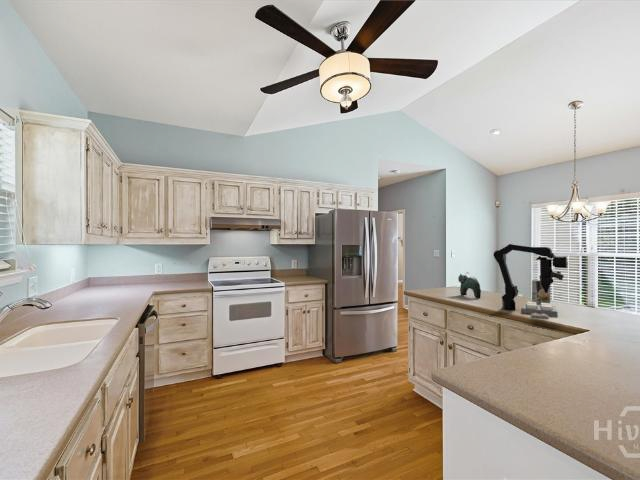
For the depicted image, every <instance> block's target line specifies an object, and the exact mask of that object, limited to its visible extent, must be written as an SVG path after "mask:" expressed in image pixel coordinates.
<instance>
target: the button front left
mask: <svg viewBox="0 0 640 480" xmlns="http://www.w3.org/2000/svg"><path fill="white" fill-rule="evenodd" d="M526 304H527V303H526ZM537 305H538V304H527V308H531V309H537Z"/></svg>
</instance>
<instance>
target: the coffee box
mask: <svg viewBox="0 0 640 480" xmlns="http://www.w3.org/2000/svg"><path fill="white" fill-rule="evenodd" d="M531 302H536V305H541V303H551V284H550V285H549V289H548V293H545V291H544V289H543V287H542V285H541V283H540V279H539V280H537V279H536V280H533V279H531Z"/></svg>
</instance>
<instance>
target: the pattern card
mask: <svg viewBox="0 0 640 480" xmlns="http://www.w3.org/2000/svg"><path fill="white" fill-rule="evenodd" d="M530 316H531V318H535V317H536V318H537V319H547V320H549V316H548V314H539V313H531V314H530Z"/></svg>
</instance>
